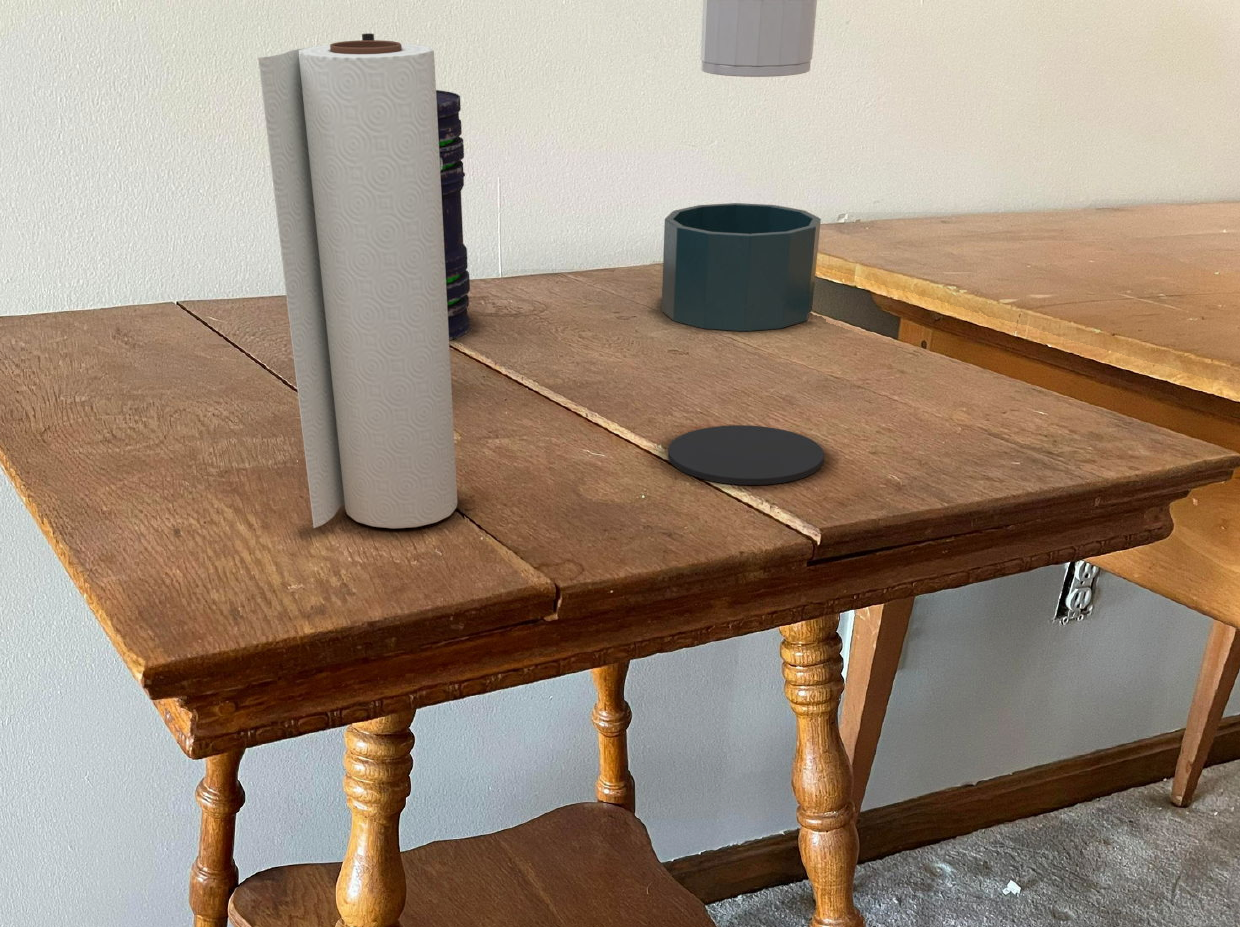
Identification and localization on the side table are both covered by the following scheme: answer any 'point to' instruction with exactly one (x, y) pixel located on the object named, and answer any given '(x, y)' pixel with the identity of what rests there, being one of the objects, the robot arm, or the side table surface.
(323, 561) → the side table surface
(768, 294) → the pail
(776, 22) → the silver cup
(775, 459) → the coaster
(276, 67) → the paper towel roll
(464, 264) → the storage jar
